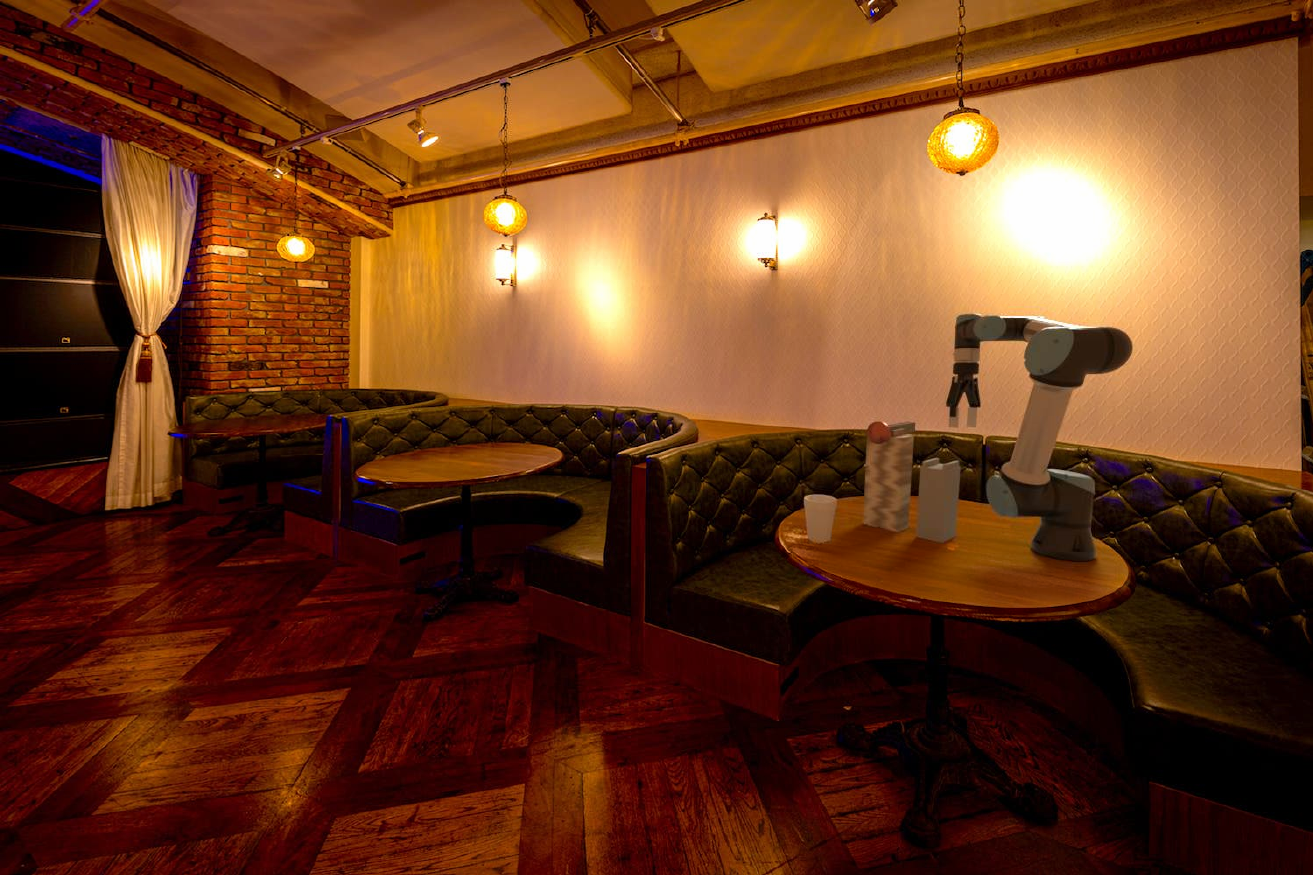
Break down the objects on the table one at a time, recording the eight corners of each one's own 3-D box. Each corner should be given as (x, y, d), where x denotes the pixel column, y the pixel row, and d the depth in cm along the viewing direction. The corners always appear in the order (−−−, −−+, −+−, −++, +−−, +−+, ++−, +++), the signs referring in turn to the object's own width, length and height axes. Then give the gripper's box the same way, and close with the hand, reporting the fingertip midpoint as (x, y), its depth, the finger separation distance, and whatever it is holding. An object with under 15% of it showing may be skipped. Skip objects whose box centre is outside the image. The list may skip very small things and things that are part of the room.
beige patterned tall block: (908, 527, 192) (914, 429, 187) (897, 532, 187) (903, 431, 182) (873, 519, 201) (878, 426, 196) (862, 523, 196) (867, 428, 191)
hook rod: (920, 438, 196) (921, 417, 195) (887, 445, 182) (888, 422, 181) (900, 435, 201) (901, 415, 200) (866, 442, 187) (867, 420, 186)
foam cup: (838, 545, 175) (840, 502, 173) (807, 545, 176) (808, 502, 174) (829, 535, 185) (831, 494, 183) (800, 535, 185) (801, 494, 183)
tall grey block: (955, 536, 183) (961, 461, 179) (942, 543, 177) (947, 465, 173) (929, 530, 189) (934, 457, 185) (916, 536, 183) (920, 461, 179)
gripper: (970, 364, 205) (967, 426, 207) (936, 360, 189) (933, 427, 191) (994, 364, 199) (990, 427, 201) (961, 359, 184) (957, 428, 185)
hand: (962, 427), depth 196 cm, fingers open, 13 cm apart
